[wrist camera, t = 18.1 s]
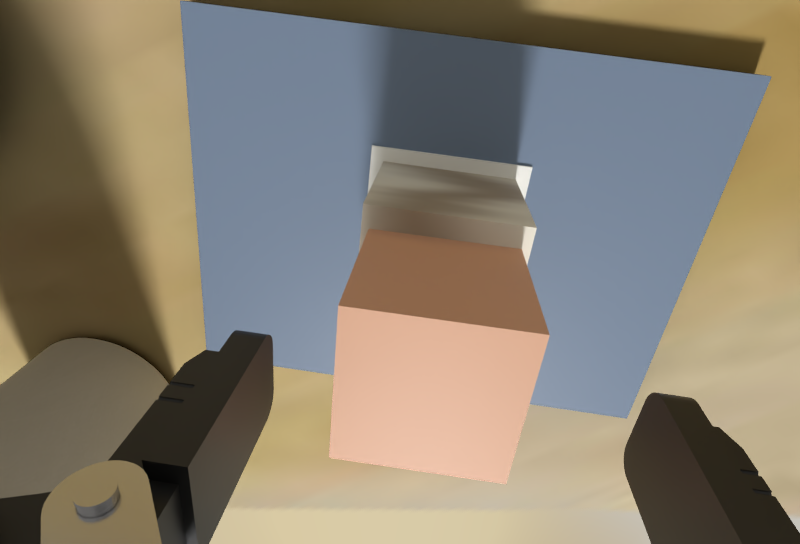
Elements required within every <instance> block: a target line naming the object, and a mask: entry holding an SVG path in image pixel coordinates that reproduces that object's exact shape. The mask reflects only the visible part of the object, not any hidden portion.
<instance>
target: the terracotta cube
mask: <svg viewBox="0 0 800 544" xmlns="http://www.w3.org/2000/svg"><path fill="white" fill-rule="evenodd" d="M549 336H550V334H549V331H548V328H547V325H546V322H545V319H544V316H543V313H542V310H541V306H540V303H539V300H538V297H537V294H536V291H535V288H534V285H533V282H532V279H531V276H530V273H529V270H528V267H527V264H526V261H525V257H524V254H523V251H522V249H518V248H510V247H503V246H495V245H488V244H480V243H473V242H465V241H458V240H450V239H443V238H436V237H428V236H421V235H413V234H406V233H398V232H391V231H383V230H376V229H368V232H367V234H366V237H365V239H364V242H363V244H362V247H361V249H360V252H359V254H358V257H357V259H356V262H355V264H354V267H353V269H352V272H351V274H350V277H349V279H348V282H347V285H346V287H345V290H344V292H343V295H342V297H341V300H340V302H339V305H338V316H337V333H336V350H335V366H334V383H333V400H332V416H331V433H330V450H329V458H334V459H341V460H347V461H354V462H361V463H367V464H374V465H381V466H388V467H394V468H401V469H408V470H414V471H421V472H428V473H435V474H441V475H448V476H455V477H461V478H468V479H475V480H482V481H488V482H495V483H502V484H506V483H507V480H508V476H509V473H510V469H511V466H512V463H513V459H514V456H515V452H516V449H517V445H518V442H519V439H520V435H521V432H522V428H523V425H524V422H525V418H526V415H527V411H528V408H529V405H530V401H531V398H532V394H533V391H534V387H535V384H536V381H537V377H538V374H539V370H540V367H541V364H542V360H543V357H544V353H545V350H546V347H547V343H548V340H549Z"/></svg>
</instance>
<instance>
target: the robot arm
mask: <svg viewBox="0 0 800 544" xmlns="http://www.w3.org/2000/svg"><path fill="white" fill-rule="evenodd" d="M273 390H274V386H273V340H272V337H271V335H267V334H261V333H254V332H247V331H240V330H235V331H234V332H233V333H232V334H231V335H230V337H229V338H228V339H227V341H226V342H225V344H224V345H223V346H222V348H221V349H220V351H219V352H218V351H211V350H205V351H203V352H202V353H200V354H199V355H197V356H195V357H194V358H192V359H191V360H189V361H188V362H186V363H184V365H183V366H182V367H181V368H180V370H179V371H178V372H177V374H176V375H175V376H174V377H173V379H172V380H171V382H170V385H167V386H166V388H165V389H164V390H163V391H162V393H161V394H160V395H159V398H158V400H155V401H154V403H153V404H152V405H151V407H150V408H149V409H148V410H147V412H146V413H145V414H144V415H143V417H142V418H141V419H140V421H139V422H138V423H137V424H136V426H135V427H134V428H133V429H132V431H131V432H130V433H129V434H128V436H127V437H126V438H125V440H124V441H123V442H122V443H121V445H120V446H119V447H118V448H117V450H116V451H115V452H114V454H113V455H112V456H111V457H110V458H109V460H108V461H104V462H99V463H95V464H92V465H89V466H87V467H84V468H82V469H80V470H78V471H76V472H75V473H73V474H71V475H70V476H68V477H67V478H65V479H64V480H63V481H62V482H60V483H59V484H58V485H57V486H56V487H55V488H54V489H53V491H52V492H46V493H40V494H32V495H24V496H16V497H8V498H0V544H209V542H210V540H211V538H212V536H213V534H214V531H215V530H216V527H217V525H218V523H219V521H220V519H221V517H222V515H223V513H224V510H225V508H226V506H227V504H228V502H229V500H230V498H231V495H232V493H233V491H234V489H235V487H236V485H237V483H238V481H239V478H240V476H241V474H242V472H243V470H244V468H245V466H246V464H247V461H248V459H249V457H250V455H251V453H252V451H253V449H254V447H255V444H256V442H257V440H258V438H259V436H260V434H261V432H262V430H263V427H264V425H265V423H266V421H267V419H268V416H269V413H270V410H271V405H272V400H273ZM624 469H625V474H626V477H627V480H628V483H629V485H630V488H631V491H632V493H633V496H634V499H635V501H636V504H637V507H638V509H639V512H640V515H641V517H642V520H643V522H644V525H645V528H646V531H647V533H648V536H649V539H650V541H651V544H800V533H799V532H798V530H797V529H796V527H795V526H794V524H793V523H792V521H791V520H790V518H789V517H788V515H787V514H786V512H785V511H784V509H783V508H782V506H781V505H780V503H779V502H778V500H777V499H776V497H774V496H772V495H771V492H772V491H771V490H770V488H769V487H768V485H767V484H766V482H765V481H764V479H763V478H762V477H761V476H758V471H757V469H756V468H755V466H754V465H753V463H752V462H751V460H750V459H749V457H748V456H747V454H746V453H745V451H744V450H743V448H741V447H740V446H739V445H738V444H737V443H736V442H735V441H734V440H733V439H731V438H730V437H729V436H728V435H727V434H726V433H725V432H724V431H723V430H721V429H720V428H719V427H713V426H712V425H711V423H710V422H709V420H708V418H707V417H706V415H705V414H704V412H703V411H702V409H701V407H700V406H699V404H698V403H697V402H696V401H695V400H694V399H692V398H688V397H681V396H675V395H668V394H661V393H651V394H650V395H649V396H648V397H647V399H646V401H645V403H644V405H643V408H642V410H641V412H640V414H639V417H638V419H637V421H636V424H635V426H634V428H633V430H632V433H631V435H630V437H629V440H628V442H627V444H626V448H625V452H624Z"/></svg>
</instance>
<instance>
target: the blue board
mask: <svg viewBox="0 0 800 544" xmlns="http://www.w3.org/2000/svg"><path fill="white" fill-rule="evenodd" d="M180 5H181V19H182V32H183V45H184V58H185V71H186V85H187V98H188V111H189V124H190V137H191V151H192V164H193V177H194V190H195V203H196V217H197V230H198V243H199V256H200V269H201V283H202V296H203V309H204V322H205V335H206V348H207V350H211V351H218V352H219V351H220V349H221V348H222V346H223V345H224V344H225V342H226V341H227V339H228V338H229V337H230V335H231V334H232V333H233V332H234V331H235V330H240V331H247V332H254V333H261V334H267V335H271V337H272V340H273V366H277V367H284V368H291V369H297V370H304V371H311V372H318V373H324V374H331V375H334V366H335V350H336V333H337V316H338V305H339V302H340V300H341V297H342V295H343V292H344V290H345V287H346V285H347V282H348V279H349V277H350V274H351V272H352V269H353V267H354V264H355V262H356V259H357V257H358V254H359V245H360V233H361V222H362V210H363V203H364V201H365V199H366V196H367V194H368V192H369V190H370V188H371V186H372V184H373V182H374V180H375V178H376V176H377V174H378V172H379V170H380V168H381V165H382V163H383V161H386V162H393V163H400V164H408V165H415V166H422V167H429V168H437V169H444V170H451V171H459V172H466V173H473V174H480V175H488V176H495V177H502V178H509V179H516V181H517V183H518V186H519V188H520V190H521V193H522V195H523V197H524V199H525V202H526V204H527V206H528V209H529V211H530V213H531V216H532V218H533V220H534V222H535V225H536V227H537V229H536V233H535V237H534V241H533V245H532V249H531V253H530V257H529V261H528V264H527V267H528V270H529V273H530V276H531V279H532V282H533V285H534V288H535V291H536V294H537V297H538V300H539V303H540V306H541V310H542V313H543V316H544V319H545V322H546V325H547V328H548V331H549V334H550V336H549V340H548V343H547V347H546V350H545V353H544V357H543V360H542V364H541V367H540V370H539V374H538V377H537V381H536V384H535V387H534V391H533V394H532V398H531V401H530V404H533V405H540V406H546V407H553V408H560V409H567V410H573V411H580V412H587V413H593V414H600V415H607V416H614V417H620V418H627V417H628V415H629V412H630V410H631V408H632V405H633V403H634V400H635V398H636V396H637V393H638V391H639V389H640V386H641V384H642V382H643V379H644V377H645V375H646V372H647V370H648V367H649V365H650V363H651V360H652V358H653V356H654V353H655V351H656V349H657V346H658V344H659V341H660V339H661V337H662V334H663V332H664V330H665V327H666V325H667V323H668V320H669V318H670V315H671V313H672V311H673V308H674V306H675V304H676V301H677V299H678V297H679V294H680V292H681V290H682V287H683V285H684V282H685V280H686V278H687V275H688V273H689V271H690V268H691V266H692V264H693V261H694V259H695V256H696V254H697V252H698V249H699V247H700V245H701V242H702V240H703V238H704V235H705V233H706V230H707V228H708V226H709V223H710V221H711V219H712V216H713V214H714V212H715V209H716V207H717V205H718V202H719V200H720V197H721V195H722V193H723V190H724V188H725V186H726V183H727V181H728V179H729V176H730V174H731V171H732V169H733V167H734V164H735V162H736V160H737V157H738V155H739V153H740V150H741V148H742V145H743V143H744V141H745V138H746V136H747V134H748V131H749V129H750V127H751V124H752V122H753V119H754V117H755V115H756V112H757V110H758V108H759V105H760V103H761V101H762V98H763V96H764V94H765V91H766V89H767V86H768V84H769V82H770V79H771V76H764V75H758V74H751V73H743V72H735V71H728V70H720V69H712V68H704V67H697V66H689V65H681V64H673V63H665V62H658V61H650V60H642V59H634V58H627V57H619V56H611V55H603V54H595V53H588V52H580V51H572V50H564V49H557V48H549V47H541V46H533V45H525V44H518V43H510V42H502V41H494V40H487V39H479V38H471V37H463V36H455V35H448V34H440V33H432V32H424V31H416V30H409V29H401V28H393V27H385V26H378V25H370V24H362V23H354V22H346V21H339V20H331V19H323V18H315V17H308V16H300V15H292V14H284V13H276V12H269V11H261V10H253V9H245V8H238V7H230V6H222V5H214V4H206V3H199V2H190V1H180Z"/></svg>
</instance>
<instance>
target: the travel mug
mask: <svg viewBox="0 0 800 544" xmlns="http://www.w3.org/2000/svg"><path fill="white" fill-rule="evenodd" d="M167 385H169V384H168V382H167V381H166V380H165V378H164V377H163V376H162V375H161V374H160V373H159V372H158V371H157V370H156V369H155V368H154V367H153V366H152V365H151V364H150V363H148V362H147V361H146V360H144V359H143V358H142V357H140V356H138V355H137V354H135V353H133V352H132V351H130V350H128V349H126V348H123V347H121V346H119V345H116V344H113V343H110V342H107V341H103V340H98V339H92V338H72V339H66V340H62V341H59V342H56V343H54V344H52V345H50V346H49V347H47V348H46V349H45V350H43V351H42V352H41V353H40V354H38V355H37V356H36V357H35V358H33V359H32V360H31V361H30V362H29V363H27V364H26V365H25V366H24V367H22V368H21V369H20V370H19V371H17V372H16V373H15V374H14V375H12V376H11V377H10V378H9V379H7V380H6V381H5V382H4V383H2V384H1V385H0V498H8V497H16V496H24V495H32V494H40V493H46V492H52V491H53V489H54V488H55V487H56V486H57V485H58V484H59V483H60V482H62V481H63V480H64V479H65V478H67V477H68V476H70V475H71V474H73V473H75V472H76V471H78V470H80V469H82V468H84V467H87V466H89V465H92V464H95V463H99V462H104V461H108V460H109V458H110V457H111V456H112V455H113V454H114V452H115V451H116V450H117V448H118V447H119V446H120V445H121V443H122V442H123V441H124V440H125V438H126V437H127V436H128V434H129V433H130V432H131V431H132V429H133V428H134V427H135V426H136V424H137V423H138V422H139V421H140V419H141V418H142V417H143V415H144V414H145V413H146V412H147V410H148V409H149V408H150V407H151V405H152V404H153V403H154V401H155V400H158V398H159V395H160V394H161V393H162V391H163V390H164V389H165V388H166V386H167Z"/></svg>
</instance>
